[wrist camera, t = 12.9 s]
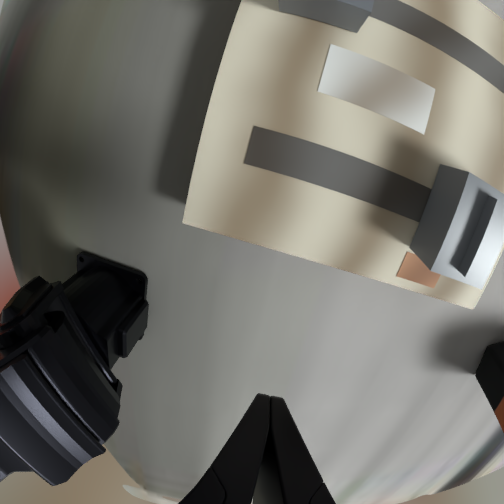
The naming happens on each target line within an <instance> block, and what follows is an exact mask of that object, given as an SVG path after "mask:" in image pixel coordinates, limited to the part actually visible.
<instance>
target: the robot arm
mask: <svg viewBox="0 0 504 504" xmlns="http://www.w3.org/2000/svg"><path fill="white" fill-rule="evenodd" d="M82 257H83V258H82ZM83 259H84V260H83ZM139 278H141V279H142V281H143V282H142V281H140V280H139ZM147 283H148V278H147V276H146V275H145V274H144V273H141V272H138V271H136V270H133V269H130V268H127V267H124V266H121V265H118V264H116V263H113V262H110V261H107V260H105V259H102V258H99V257H96V256H94V255H91V254H88V253H86V252H81V253H79V254H78V255H77V273H76V274H74V275H73V276H72V277H71V278H69V279H68V280H67V281H66V282H64V283H63V284H62V283H61V281H57V282H54V283H50V284H49V282H48V281H45V280H44V279H43V278H42V277H40V276H38V277H35V278H33V279H32V280H31V281H29V282H28V283H27V284H25V285H24V286H23V287H21V288H20V289H19V290H18V291H17V292H16V293H15V294H14V296H13V297H12V298H11V299H10V300H9V302H8V303H7V304H6V306H5V307H4V308H3V310H2V312H1V314H0V482H1V481H2V480H3V479H5V478H6V477H7V476H8V475H10V474H12V473H13V472H32V471H34V472H35V473H36V474H38V475H39V476H40V477H41V478H43V479H44V480H45V481H46V482H47V483H49V484H50V485H52V486H55V485H58V484H61V483H64V482H66V481H68V480H69V478H70V477H71V476H72V475H73V474H74V473H75V472H76V471H77V470H78V469H79V468H80V467H81V466H82V465H83V464H84V463H86V462H87V461H89V460H90V459H92V458H94V457H96V456H98V455H101V454H103V453H104V452H105V451H106V449H105V448H104V447H103V446H102V444H104V443H105V442H106V441H107V440H108V439H109V438H110V437H111V436H112V435H113V434H114V432H115V431H116V429H117V427H118V425H119V420H118V419H117V417H118V414H119V409H120V397H121V391H122V384H121V382H120V381H119V380H118V379H116V377H115V376H114V374H113V373H112V372H111V369H112V367H113V366H114V364H115V363H116V361H117V360H118V358H119V357H122V358H126V357H127V356H128V355H129V353H130V352H131V350H132V349H133V347H134V346H135V344H136V343H137V341H138V340H141V339H142V337H143V336H144V331H145V329H146V328H147V319H148V305H149V304H148V302H147V300H146V295H147ZM252 498H253V504H336V503H335V501H334V500H333V498H332V496H331V494H330V492H329V491H328V489H327V487H326V485H325V483H323V479H322V477H321V475H320V473H319V471H318V469H317V467H316V465H315V463H314V461H313V459H312V457H311V455H310V453H309V451H308V449H307V447H306V445H305V443H304V441H303V439H302V436H301V434H300V432H299V430H298V428H297V426H296V424H295V422H294V420H293V418H292V416H291V414H290V411H289V409H288V407H287V405H286V403H285V401H284V399H283V398H281V397H276V396H271V397H270V396H269V395H265V394H260V393H258V394H257V395H256V397H255V398H254V400H253V402H252V403H251V405H250V406H249V408H248V410H247V411H246V413H245V414H244V416H243V418H242V419H241V421H240V422H239V424H238V425H237V427H236V429H235V430H234V432H233V433H232V435H231V436H230V438H229V439H228V441H227V442H226V444H225V445H224V447H223V448H222V450H221V451H220V453H219V454H218V456H217V457H216V459H215V460H214V461H213V463H212V464H211V466H210V468H208V470H207V471H206V473H205V474H204V476H203V477H202V478H201V479H200V481H199V482H198V483H197V484H196V486H195V487H194V488H193V489H192V490H191V491H190V492H189V493H188V494H187V495H186V496H185V497H184V499H182V500H181V501H180V502H179V503H178V504H251V502H252Z"/></svg>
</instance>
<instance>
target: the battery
mask: <svg viewBox="0 0 504 504" xmlns="http://www.w3.org/2000/svg"><path fill="white" fill-rule="evenodd" d="M475 376H476V378H477V380H478V382H479V384H480V386H481V388H482V389H483V391H484V393H485V395H486V397H487V399H488V401H489V403H490V405H491V407H492V409H493V411H494V413H495V415H496V417H497V419H498V421H499V424H500V426H501V428H502V430H503V432H504V342H501V343H498V344H494V345H491V346H488V347H487V349H486V352H485V354H484V357H483V359H482V361H481V364H480V366H479V368H478V370H477V372H476V375H475Z"/></svg>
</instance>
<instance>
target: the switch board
mask: <svg viewBox="0 0 504 504" xmlns="http://www.w3.org/2000/svg"><path fill="white" fill-rule="evenodd" d="M440 164H442V165H446V166H450V167H454V168H457V169H461V170H464V171H467V172H470V173H472V174H473V175H475V176H477V177H478V178H480V179H482V180H483V181H485V182H486V183H488V184H489V185H491V186H492V187H494V188H495V189H497V190H498V191H500V192H501V193H503V194H504V20H503V19H502V18H501V17H499V16H498V15H497V14H495V13H494V12H493V11H492V10H490V9H489V8H488V7H486V6H485V5H483V4H482V3H481V2H479V1H478V0H374V3H373V8H372V12H371V14H370V15H369V17H368V18H367V19H366V21H365V22H364V24H363V25H362V26H361V28H360V29H359V31H358V32H357V33H355V32H352V31H349V30H346V29H343V28H340V27H337V26H334V25H331V24H328V23H324V22H321V21H317V20H314V19H310V18H306V17H302V16H298V15H294V14H290V13H285V12H281V11H279V4H278V0H241V3H240V6H239V9H238V12H237V14H236V17H235V20H234V23H233V26H232V29H231V32H230V35H229V38H228V41H227V45H226V48H225V51H224V54H223V57H222V61H221V64H220V67H219V71H218V74H217V78H216V81H215V85H214V88H213V92H212V95H211V99H210V103H209V106H208V110H207V114H206V118H205V122H204V126H203V130H202V134H201V138H200V142H199V146H198V151H197V155H196V159H195V164H194V168H193V173H192V177H191V182H190V187H189V192H188V197H187V202H186V207H185V212H184V217H183V222H182V223H183V224H187V225H190V226H194V227H197V228H201V229H204V230H208V231H211V232H215V233H218V234H222V235H225V236H229V237H232V238H236V239H239V240H242V241H246V242H249V243H253V244H256V245H260V246H263V247H267V248H270V249H273V250H277V251H280V252H284V253H287V254H290V255H294V256H297V257H301V258H304V259H307V260H311V261H314V262H318V263H321V264H324V265H328V266H331V267H334V268H338V269H341V270H344V271H348V272H351V273H354V274H358V275H361V276H365V277H368V278H371V279H374V280H378V281H381V282H384V283H388V284H391V285H394V286H398V287H401V288H404V289H408V290H411V291H414V292H417V293H421V294H424V295H427V296H430V297H434V298H437V299H440V300H444V301H447V302H450V303H453V304H456V305H460V306H463V307H466V308H469V309H474V308H475V306H476V304H477V302H478V301H479V299H480V297H481V295H482V293H483V291H484V289H485V287H486V286H487V284H488V282H489V280H490V278H491V276H492V274H493V271H494V269H495V267H496V265H497V263H498V261H499V259H500V256H501V254H502V252H503V249H504V243H503V246H502V248H501V250H500V253H499V255H498V257H497V259H496V262H495V264H494V266H493V268H492V270H491V272H490V274H489V276H488V278H487V280H486V282H485V284H484V286H483V288H482V290H481V289H479V288H476V287H473V286H471V285H468V284H465V283H463V282H460V281H457V280H455V279H452V278H449V277H446V276H444V275H441V274H438V273H435V272H432V271H430V270H429V269H428V267H427V266H426V265H425V264H424V263H423V262H422V261H421V260H420V259H419V258H418V256H417V255H416V254H415V253H414V252H413V251H412V250H411V249H410V248H409V247H410V244H411V242H412V240H413V237H414V235H415V232H416V230H417V227H418V225H419V222H420V220H421V217H422V215H423V212H424V209H425V207H426V204H427V201H428V199H429V196H430V193H431V190H432V187H433V184H434V181H435V178H436V175H437V172H438V169H439V166H440Z"/></svg>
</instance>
